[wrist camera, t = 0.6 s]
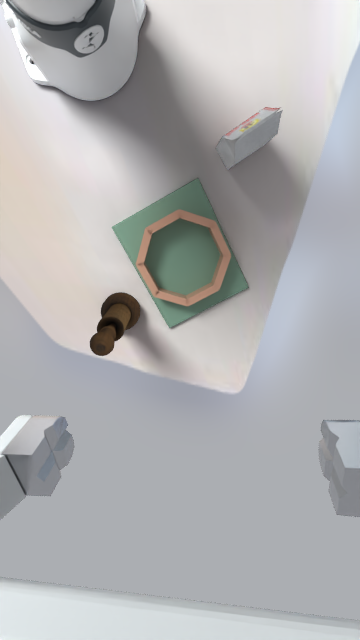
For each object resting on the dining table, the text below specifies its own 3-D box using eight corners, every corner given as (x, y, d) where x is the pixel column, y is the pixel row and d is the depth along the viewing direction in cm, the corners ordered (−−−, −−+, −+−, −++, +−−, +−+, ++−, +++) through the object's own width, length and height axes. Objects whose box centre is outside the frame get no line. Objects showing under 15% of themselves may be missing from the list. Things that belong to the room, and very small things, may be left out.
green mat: (112, 227, 49) (111, 227, 49) (197, 178, 48) (198, 177, 47) (169, 327, 55) (169, 328, 54) (247, 286, 53) (248, 287, 53)
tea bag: (264, 145, 47) (288, 123, 37) (227, 170, 48) (241, 155, 38) (253, 122, 46) (275, 94, 36) (215, 148, 47) (227, 127, 37)
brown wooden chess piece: (141, 294, 53) (128, 325, 36) (139, 328, 55) (125, 373, 38) (103, 290, 53) (72, 320, 35) (102, 325, 54) (72, 369, 37)
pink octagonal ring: (124, 240, 50) (121, 241, 47) (201, 197, 48) (203, 195, 45) (166, 313, 54) (165, 318, 51) (238, 275, 52) (242, 278, 49)
